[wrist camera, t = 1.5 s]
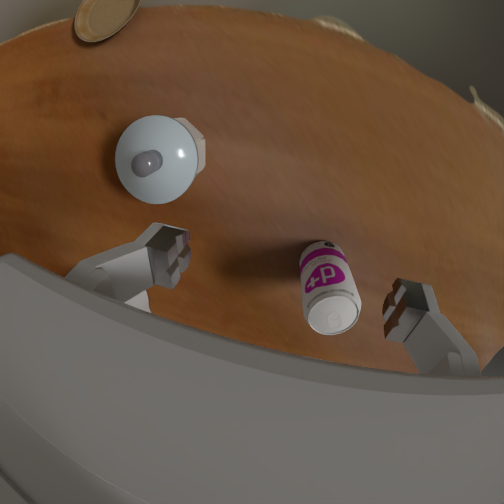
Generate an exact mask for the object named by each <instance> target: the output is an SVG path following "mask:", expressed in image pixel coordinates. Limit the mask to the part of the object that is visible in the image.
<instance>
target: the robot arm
mask: <svg viewBox="0 0 504 504" xmlns="http://www.w3.org/2000/svg"><path fill="white" fill-rule="evenodd" d="M189 241H190V232H189V231H188V230H186V229H182V228H178V227H174V226H170V225H165V224H161V223H153V224H151V225H150V226H149V227H148V228H147V229H146V230H145V231H144V232H143V233H142V234H141V235H140V236H139V237H138V238H137V239H136V240H135V241H134V242H133V243H130V242H129V243H127V244H124V245H121V246H118V247H116V248H113V249H110V250H108V251H105V252H102V253H100V254H97V255H94V256H92V257H89V258H87V259H84V260H82V261H80V262H79V263H78V264H77V265H76V266H75V267H74V268H73V269H72V270H71V271H70V272H69V273H68V274H67V275H66V276H65V277H62V276H60V275H58V274H55V273H53V272H51V271H49V270H47V269H45V268H43V267H41V266H39V265H37V264H35V263H33V262H31V261H29V260H27V259H25V258H24V257H22V256H20V255H18V254H16V253H8V254H4V255H2V256H0V504H504V377H481V373H480V368H479V364H478V360H477V356H476V353H475V352H474V351H473V349H472V348H471V347H470V346H469V344H468V343H467V342H466V341H465V340H464V338H463V337H462V336H461V335H460V333H459V332H458V331H457V330H456V329H455V328H454V326H453V325H452V324H451V323H450V322H449V321H448V319H447V318H446V317H445V316H444V315H442V314H440V311H439V308H438V304H437V301H436V298H435V295H434V292H433V289H432V286H431V285H430V284H425V283H420V282H419V283H418V282H414V281H410V280H405V279H401V278H397V279H396V280H395V281H394V283H393V285H392V287H393V291H392V292H390V293H388V294H387V296H386V298H385V300H384V304H383V310H382V313H383V318H384V319H385V320H386V323H385V325H384V334H385V339H386V340H391V341H396V342H402V343H403V345H404V346H405V348H406V350H407V352H408V353H409V355H410V357H411V359H412V360H413V362H414V364H415V366H416V368H417V369H418V371H419V373H420V374H417V373H407V372H398V371H390V370H382V369H375V368H368V367H361V366H354V365H348V364H342V363H337V362H331V361H326V360H320V359H315V358H310V357H305V356H301V355H296V354H291V353H287V352H283V351H278V350H274V349H270V348H266V347H262V346H258V345H254V344H250V343H246V342H242V341H239V340H235V339H231V338H228V337H224V336H221V335H217V334H214V333H210V332H207V331H204V330H200V329H197V328H194V327H191V326H188V325H184V324H181V323H178V322H175V321H172V320H169V319H166V318H163V317H161V316H158V315H155V314H152V313H151V311H150V309H149V305H148V295H147V292H146V289H148V288H150V287H152V286H153V285H154V284H155V285H159V286H162V287H166V288H170V289H173V288H174V287H175V285H176V284H177V282H178V281H179V279H180V273H182V272H184V271H185V270H186V269H187V267H188V265H189V262H190V259H191V248H190V247H189V245H188V244H187V243H188V242H189Z"/></svg>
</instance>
